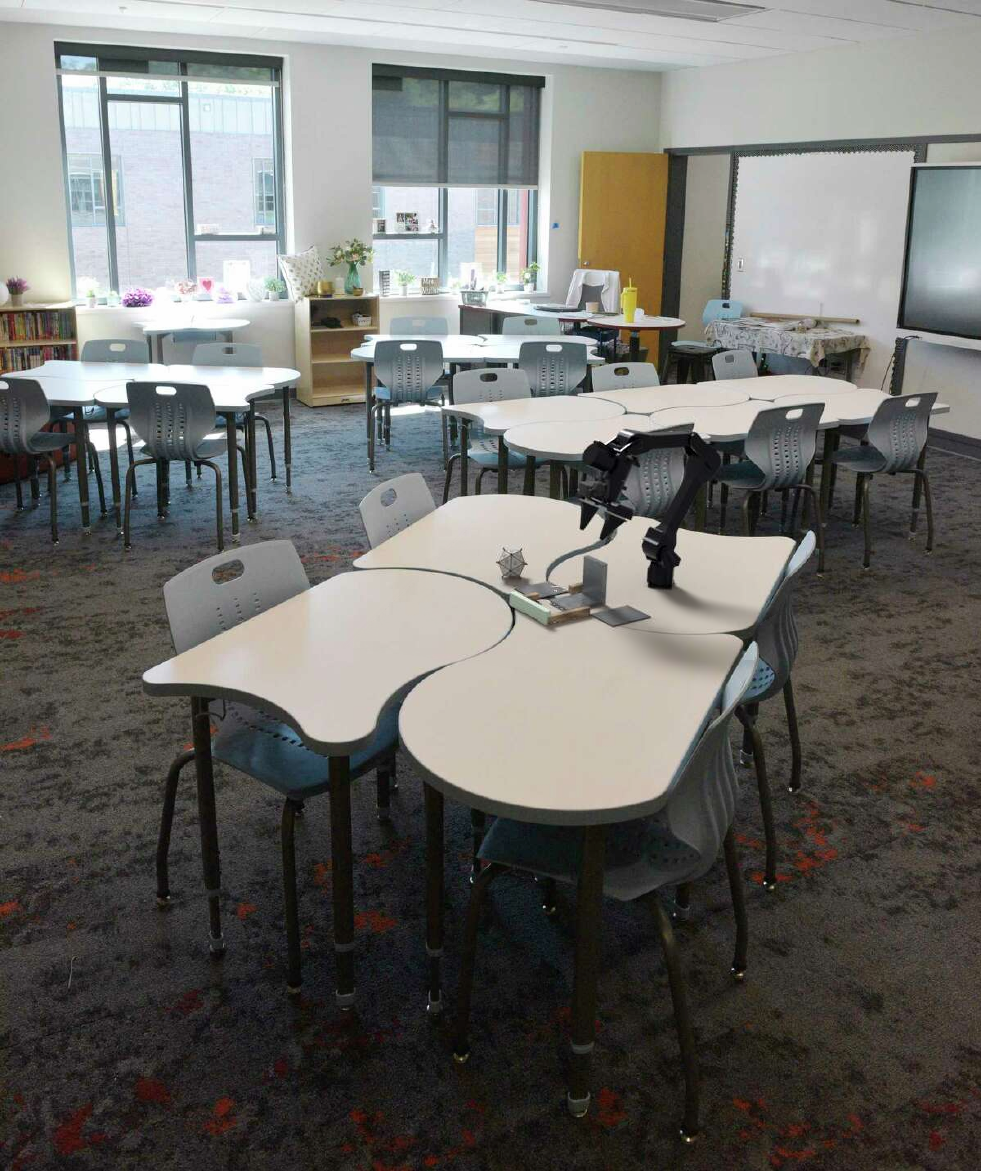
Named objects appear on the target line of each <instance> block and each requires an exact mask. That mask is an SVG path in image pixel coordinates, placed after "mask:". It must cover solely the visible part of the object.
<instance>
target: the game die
mask: <svg viewBox="0 0 981 1171" xmlns="http://www.w3.org/2000/svg"><path fill="white" fill-rule="evenodd" d="M502 550H503V551H502V554H501V556H500V558H499V560H498V561H496V562H495V563H496V564H497V565H499V566H498V567H499V568H500V571H501V573H502V575H501V579H503V578H504V577H518V578H519V580H522V576H521V574H522V573H523V570H524V568H525V566H528V563H527V562H526V561H525V558H524V556H523V552H522V551H523V548H521V547H520V549H519V550H515V549H505V547H502Z"/></svg>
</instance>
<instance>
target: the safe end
mask: <svg viewBox="0 0 981 1171" xmlns="http://www.w3.org/2000/svg"><path fill="white" fill-rule="evenodd" d="M523 595H524V594H522V593H520V592H518V591H516V590H515V591H510V592H509V606H511V607H512V608H514V609H516V610H518V611H519V612H521V613H523V614H524V613H526V614H528V615H529V616H528V615H527V616H528V617H530V616H531V617H530V618H532V617H534V618H535V619H537V620H538V623H540V622H542V623H543V625H544V624H545V625H544V626H548V625H547V623H548V617H551V614H552V610H551V609H549V608H546V607H545V606H543V605H541V604H539V603H537V602H534V601H532V600H530V599H528V598H526V597H525V596H523ZM526 614H525V615H526ZM535 619H534V620H535ZM537 620H536V621H537ZM542 623H541V624H542Z"/></svg>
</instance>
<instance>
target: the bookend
mask: <svg viewBox="0 0 981 1171" xmlns="http://www.w3.org/2000/svg"><path fill="white" fill-rule="evenodd" d="M582 564H583V568H582V582H583V586H582V592H578V593H574V594H570V595H565V596H559V597H556V598H551V599H549V600H548V602H549V601H550V602H551V603H552V604H555V605H556V606H558V607H559V608H562V609H563V610H565V611H566V610H570V609H575V608H579V607H583V606H588V607H590V609H591V608H597V607H600V606H605V605H606V602H607V600H606V599H607V583H608V563H607V562H604V561H603V560H600V559H598V558H595V557H594V556H591V555H584V556H583V563H582ZM604 604H605V605H604ZM559 608H558V609H559ZM563 610H562V611H563Z"/></svg>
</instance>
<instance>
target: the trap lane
mask: <svg viewBox="0 0 981 1171" xmlns="http://www.w3.org/2000/svg"><path fill="white" fill-rule="evenodd" d="M551 586H558V585H557V584H555V583H553V582H551V581H549V580H548V581H543V582H539V583H534V584H530V585H525V586H519V587H516V588H514V590H515V591H516V592H518V593H519V594H521V595H523V596H525V597H526V598H528V599H530V600H532V601H537V600H539V601H540V599H543V598H548V597H552V596H557V594H558V595H561V594H560V593H563V594H566V593H565V592H567V593H569V592H570V593H569V594H571V593H574V594H577V593H576V592H578V593H581V592H580V591H582V586H583V581H582V582H576V583H572V584H568V590H567V589H565V588H563V587H561V586H559V587H551ZM554 590H557V592H556V591H554ZM563 590H565V591H563ZM588 616H591V617H593V618H594V619H597V620H599V621H601V622H602V623H605V624H606V625H608V626H610V627H612V628H614V627H618V626H621V625H625V624H630V623H634V622H638V621H642V620H647V619H650V618H651V617H652V616H650V615H649V614H647V613H645V612H643V611H641V610H638V609H636V608H634V607H632V606H630V605H629V604H627V605H623V606H618V607H615V608H614V607H613V608H609V609H606V610H601V611H597V612H594V613H591V608H590V607H588V606H583V607H579V608H575V609H570V610H566V611H563V610H561V611H559V612H553V613H551V617H548V623H547V624H550V625H552V624H551V623H554V622H559V623H562V621H563V622H567V621H570V620H569V619H571V620H574V619H573V618H576V619H579V618H578V617H580V618H584V617H588ZM566 620H567V621H566ZM554 624H555V623H554Z"/></svg>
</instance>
